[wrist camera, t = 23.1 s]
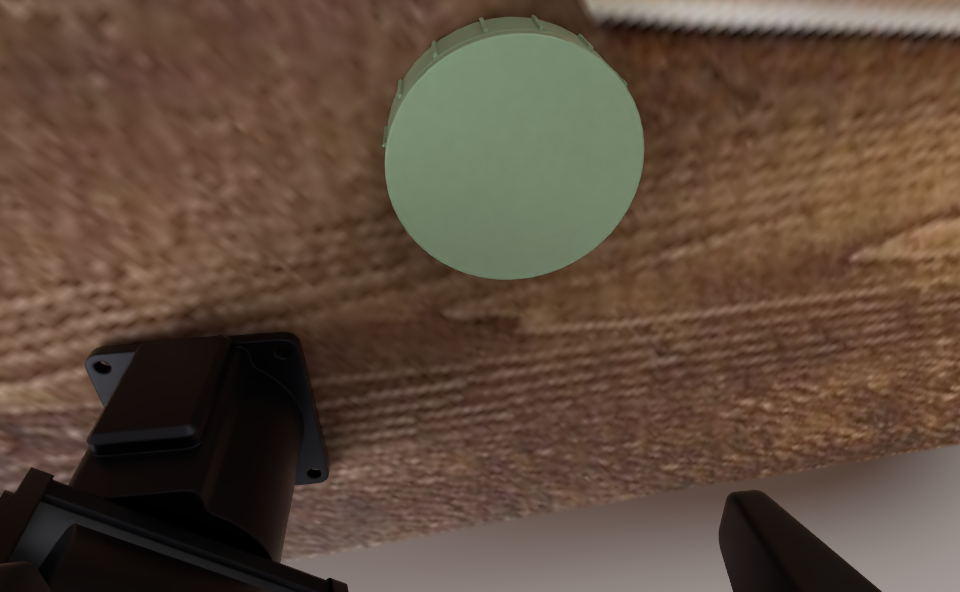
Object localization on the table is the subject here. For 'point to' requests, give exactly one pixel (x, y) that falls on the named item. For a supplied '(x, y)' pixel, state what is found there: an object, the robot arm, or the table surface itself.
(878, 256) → the table surface
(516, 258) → the jar lid
